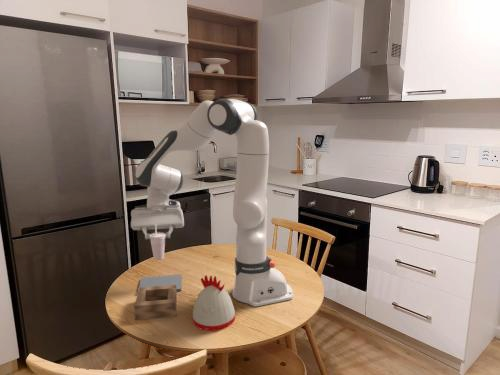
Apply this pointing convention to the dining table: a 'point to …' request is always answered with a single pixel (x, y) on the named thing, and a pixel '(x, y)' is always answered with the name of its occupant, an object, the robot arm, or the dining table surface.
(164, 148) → the robot arm
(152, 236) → the smoothie
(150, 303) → the holder collar
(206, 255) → the dining table surface
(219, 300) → the kitchen timer
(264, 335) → the dining table surface
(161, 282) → the rubber mat
